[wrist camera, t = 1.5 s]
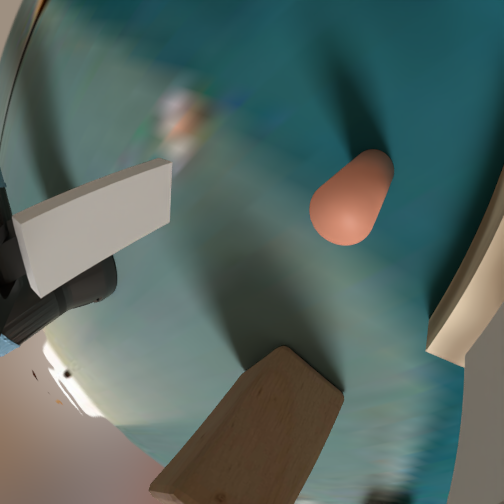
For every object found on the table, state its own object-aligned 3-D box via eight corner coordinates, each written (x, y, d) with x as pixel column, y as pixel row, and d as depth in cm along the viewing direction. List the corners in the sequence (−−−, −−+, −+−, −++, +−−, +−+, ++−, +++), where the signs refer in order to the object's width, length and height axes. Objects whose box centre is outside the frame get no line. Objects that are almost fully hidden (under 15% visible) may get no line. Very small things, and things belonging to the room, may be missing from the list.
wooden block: (284, 338, 33) (166, 494, 18) (350, 394, 32) (267, 554, 17) (242, 371, 39) (142, 490, 24) (298, 417, 38) (219, 540, 23)
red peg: (349, 181, 23) (303, 230, 15) (359, 143, 21) (318, 171, 13) (386, 195, 22) (362, 255, 14) (399, 157, 20) (383, 195, 12)
